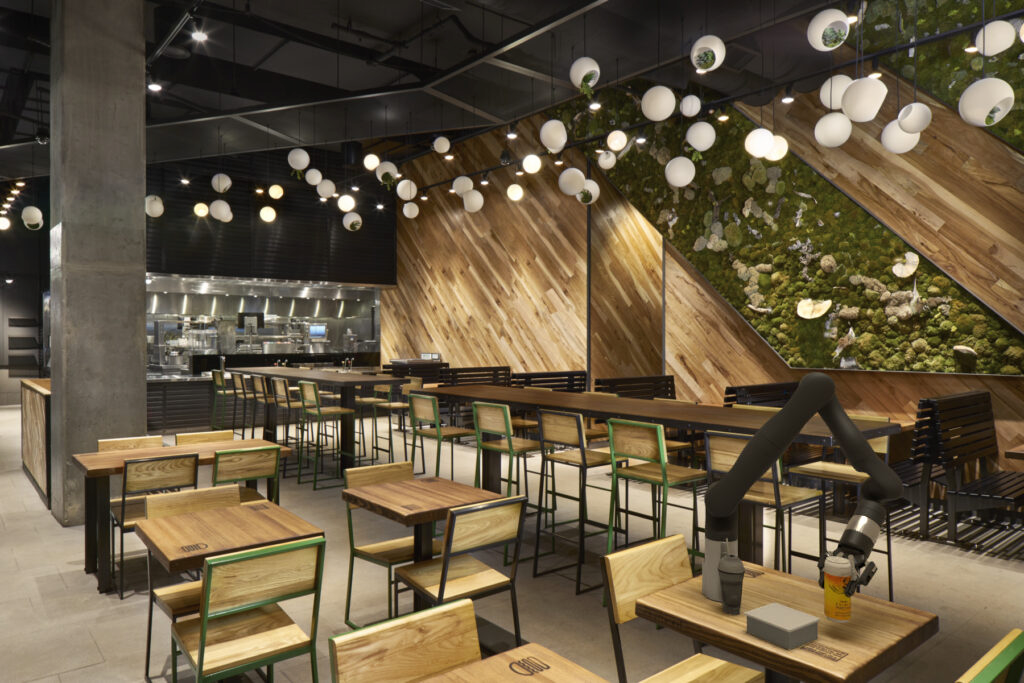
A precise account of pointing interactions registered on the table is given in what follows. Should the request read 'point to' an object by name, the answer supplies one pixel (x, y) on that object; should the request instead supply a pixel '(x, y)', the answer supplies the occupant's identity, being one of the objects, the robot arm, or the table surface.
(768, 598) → the table surface
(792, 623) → the grey square box
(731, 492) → the robot arm
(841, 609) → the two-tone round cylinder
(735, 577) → the beverage cup
